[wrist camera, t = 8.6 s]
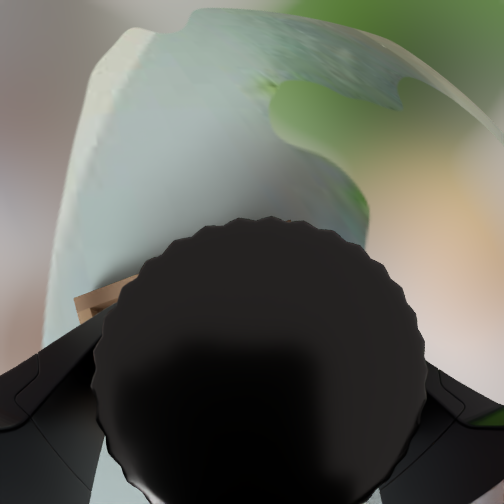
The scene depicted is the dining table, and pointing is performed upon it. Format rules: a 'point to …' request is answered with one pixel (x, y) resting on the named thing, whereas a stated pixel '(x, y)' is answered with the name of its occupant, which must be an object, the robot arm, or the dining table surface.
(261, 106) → the dining table surface
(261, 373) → the supplement bottle
